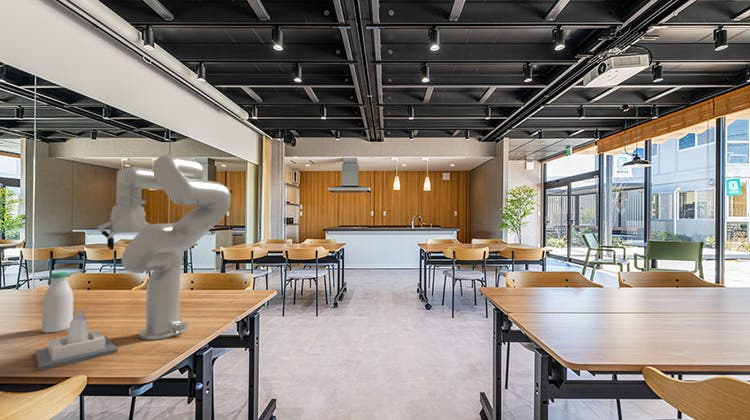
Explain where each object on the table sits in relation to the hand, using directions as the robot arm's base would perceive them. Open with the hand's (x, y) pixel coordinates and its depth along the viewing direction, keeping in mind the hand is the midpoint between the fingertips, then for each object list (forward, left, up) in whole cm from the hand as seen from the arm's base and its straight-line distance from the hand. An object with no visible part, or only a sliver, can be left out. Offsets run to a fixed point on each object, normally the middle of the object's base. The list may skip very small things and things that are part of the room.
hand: (127, 248), depth 121 cm
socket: (-7, +25, -28) cm, 38 cm away
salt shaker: (-7, +25, -28) cm, 38 cm away
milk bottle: (+20, +6, -28) cm, 35 cm away
